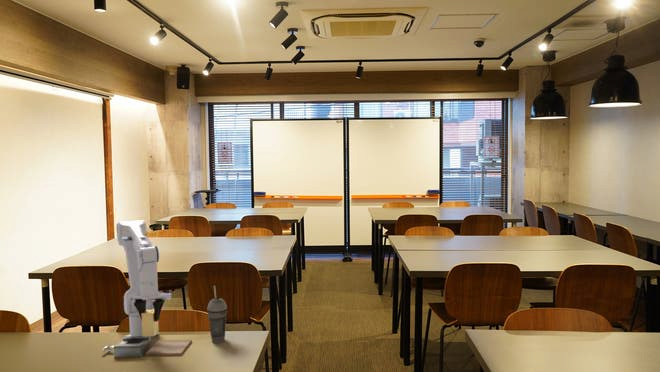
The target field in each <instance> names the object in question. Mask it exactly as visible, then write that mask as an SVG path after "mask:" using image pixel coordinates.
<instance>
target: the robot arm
mask: <svg viewBox="0 0 660 372" xmlns="http://www.w3.org/2000/svg"><path fill="white" fill-rule="evenodd" d="M115 227H116V229H115V231H116V237H117V242H118V245H119V246H121V247H123V249H124V251H125V258H126V265H127V272H128V273H127V274H128V279H129V286H130V288H129V289H128V290H127V291H125V293H124V294H123V310H124V313H125V314H126V315H128V318H129V319H128V320H129V322H128V323H129V334H126V335H125V336H142V313H143V312H144V311H145V310H154V314H155V321H158V322H159V320H160V315H161V311H162V309H163V306H164V303H165V302H166V301H171V300H172V293H170V292H169V293H168V292H159V285H158V283H159V280H158V278H159V277H158V263H159V262H160V261H159V260H160V253H159V252H160V251H159V248H158V246H157V245H153V244H152V242H151V241H150V238H149V237H148V236H146V233H147V224H146V222H145V220H144V219H141V220H140V219H138V220H129V221H128V220H127V221H126V220H125V221H117V223H116V226H115ZM158 335H160V332H158V333H157V334H156V335H155V336H158ZM152 337H153V336H151V338H152Z"/></svg>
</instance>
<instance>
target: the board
mask: <svg viewBox="0 0 660 372" xmlns="http://www.w3.org/2000/svg"><path fill="white" fill-rule="evenodd" d="M192 341H193V339H160V340H159V339H158V340H157V341H156V342H155V343H153V345H151V347H150V348H149V349H148V350H147V351H146V352H145V353H144V354H145V356H146V357H162V356H163V357H165V356H166V357H167V356H168V357H169V356H170V357H172V356H174V357H175V356H182V355H183V354H184V352H185V351H186V350H187V349H188V348H189V346H190V345H191V343H192Z"/></svg>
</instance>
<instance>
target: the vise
mask: <svg viewBox="0 0 660 372" xmlns="http://www.w3.org/2000/svg"><path fill="white" fill-rule="evenodd" d="M151 347H152V337H151V336H126V335H125V336H124V337H123V338H122V341H121V342H120V343H115V345H111V344H107V345H105V347H103V348H102V349H101V352H102V353H104V352H106V351H109V350H111V351H113V357H114V358H142V357H143V356H144V354H146V353H147V352H148V351H149V350H150V348H151Z"/></svg>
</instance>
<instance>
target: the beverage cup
mask: <svg viewBox="0 0 660 372" xmlns="http://www.w3.org/2000/svg"><path fill="white" fill-rule="evenodd" d="M213 292H214V298H213V299H211V300H210V301H209V303H207V304H208V305H207V307H206V308H207V309H206V312H207V315H208V316H207V317H208V322H209V331H210V338H211V343H215V344H220V343H223V342H225V338H226V326H227V325H226V324H227V314H228V313H227V312H228V307H227V306H228V305H227V303H226V300H224V299H223V298H220V297H217V289H216V285H213Z"/></svg>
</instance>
